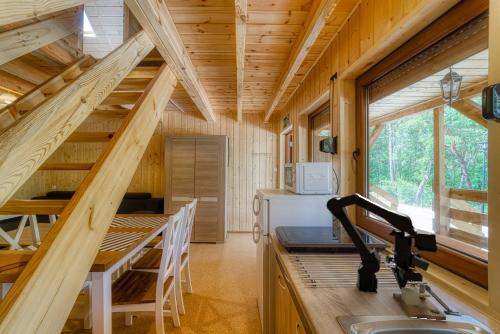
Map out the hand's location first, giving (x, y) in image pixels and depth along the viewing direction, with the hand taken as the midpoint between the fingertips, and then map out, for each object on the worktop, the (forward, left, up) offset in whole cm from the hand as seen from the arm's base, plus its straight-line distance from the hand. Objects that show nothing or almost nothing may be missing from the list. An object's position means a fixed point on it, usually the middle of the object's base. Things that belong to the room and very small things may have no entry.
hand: (402, 289), depth 98 cm
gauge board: (+2, -8, -2) cm, 8 cm away
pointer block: (+2, -7, -1) cm, 7 cm away
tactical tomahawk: (+14, 0, -3) cm, 14 cm away
